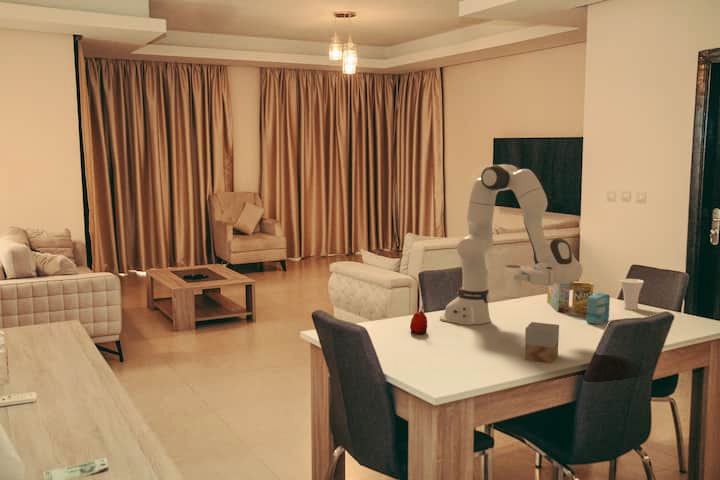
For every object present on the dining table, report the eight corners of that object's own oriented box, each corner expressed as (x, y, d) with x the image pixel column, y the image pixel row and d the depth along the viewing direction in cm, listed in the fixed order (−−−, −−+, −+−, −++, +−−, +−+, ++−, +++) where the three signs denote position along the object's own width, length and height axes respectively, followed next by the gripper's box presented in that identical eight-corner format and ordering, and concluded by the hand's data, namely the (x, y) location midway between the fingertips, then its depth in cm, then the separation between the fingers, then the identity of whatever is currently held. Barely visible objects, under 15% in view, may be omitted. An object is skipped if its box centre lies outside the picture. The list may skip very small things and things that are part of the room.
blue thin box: (595, 325, 304) (596, 298, 302) (586, 323, 307) (587, 296, 305) (609, 320, 312) (610, 293, 310) (599, 318, 315) (600, 292, 314)
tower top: (525, 344, 254) (525, 328, 253) (531, 337, 263) (531, 322, 262) (553, 347, 250) (553, 331, 249) (558, 340, 259) (559, 324, 258)
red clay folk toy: (416, 330, 297) (416, 295, 295) (431, 332, 293) (431, 297, 291) (407, 333, 291) (407, 298, 289) (421, 336, 287) (421, 300, 285)
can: (521, 298, 272) (522, 267, 270) (504, 297, 272) (505, 267, 271) (520, 295, 278) (521, 265, 276) (503, 294, 279) (504, 264, 277)
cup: (622, 305, 341) (623, 277, 340) (644, 307, 335) (646, 280, 334) (616, 309, 333) (617, 281, 331) (639, 312, 327) (640, 283, 325)
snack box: (569, 312, 327) (570, 280, 325) (557, 312, 328) (558, 280, 326) (557, 302, 348) (558, 272, 346) (546, 302, 349) (547, 272, 347)
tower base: (524, 360, 255) (525, 344, 254) (530, 353, 264) (531, 337, 263) (552, 364, 251) (553, 347, 250) (557, 356, 260) (558, 340, 259)
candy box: (571, 315, 321) (572, 282, 319) (572, 313, 325) (573, 280, 323) (591, 317, 318) (593, 283, 316) (592, 314, 322) (593, 282, 320)
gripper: (530, 261, 287) (499, 263, 284) (556, 270, 267) (522, 272, 264) (530, 277, 288) (499, 278, 284) (555, 286, 268) (522, 288, 265)
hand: (510, 275), depth 274 cm, fingers closed on can, 6 cm apart
